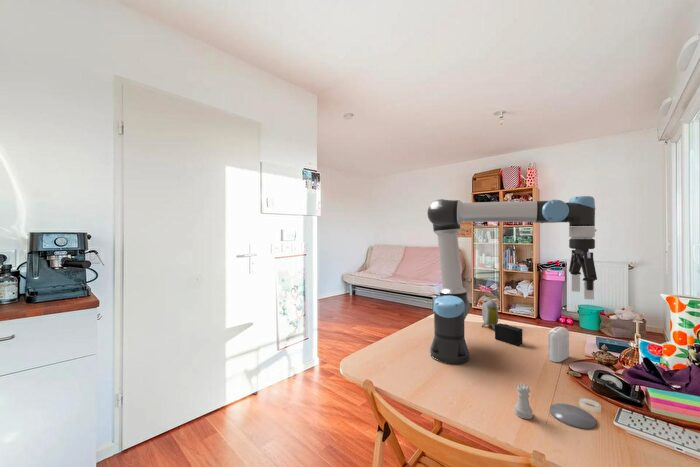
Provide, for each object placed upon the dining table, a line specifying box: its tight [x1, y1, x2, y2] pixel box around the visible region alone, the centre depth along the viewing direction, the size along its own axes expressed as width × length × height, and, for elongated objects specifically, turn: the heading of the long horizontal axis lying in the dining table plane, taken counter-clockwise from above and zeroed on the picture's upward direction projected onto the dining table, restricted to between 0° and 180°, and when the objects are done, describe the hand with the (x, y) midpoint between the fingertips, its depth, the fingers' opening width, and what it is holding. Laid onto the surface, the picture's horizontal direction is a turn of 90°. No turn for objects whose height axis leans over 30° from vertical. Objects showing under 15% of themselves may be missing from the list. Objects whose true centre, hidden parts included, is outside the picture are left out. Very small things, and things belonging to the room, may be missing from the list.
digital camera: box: [494, 322, 523, 347], centre depth 133 cm, size 10×5×7 cm, turn 35°
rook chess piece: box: [514, 383, 534, 420], centre depth 81 cm, size 4×4×8 cm
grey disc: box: [549, 402, 597, 430], centre depth 80 cm, size 10×10×1 cm
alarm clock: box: [481, 296, 499, 331], centre depth 153 cm, size 12×7×15 cm, turn 169°
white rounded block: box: [547, 326, 570, 363], centre depth 115 cm, size 10×4×12 cm, turn 123°
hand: (581, 295), depth 109 cm, fingers open, 13 cm apart
